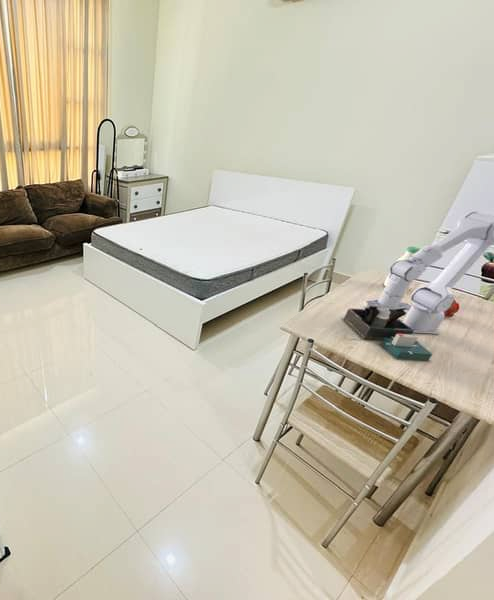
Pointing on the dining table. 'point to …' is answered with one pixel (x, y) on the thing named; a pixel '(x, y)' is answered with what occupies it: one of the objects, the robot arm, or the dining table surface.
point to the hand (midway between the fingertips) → (376, 324)
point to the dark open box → (374, 333)
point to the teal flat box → (406, 350)
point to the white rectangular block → (404, 340)
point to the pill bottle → (381, 318)
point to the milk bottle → (405, 257)
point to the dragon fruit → (452, 309)
